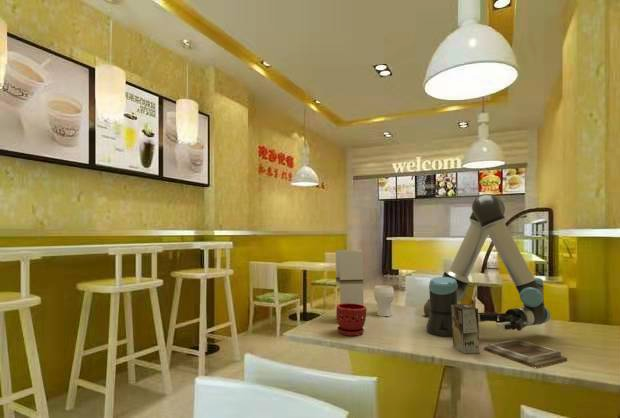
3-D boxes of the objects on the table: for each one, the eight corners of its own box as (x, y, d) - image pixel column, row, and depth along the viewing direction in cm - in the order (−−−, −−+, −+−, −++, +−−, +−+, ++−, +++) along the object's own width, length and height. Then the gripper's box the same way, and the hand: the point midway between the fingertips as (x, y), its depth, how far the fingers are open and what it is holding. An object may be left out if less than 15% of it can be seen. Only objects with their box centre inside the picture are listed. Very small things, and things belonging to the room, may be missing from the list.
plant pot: (345, 339, 148) (345, 309, 149) (331, 330, 160) (331, 304, 161) (372, 335, 153) (371, 307, 153) (357, 327, 165) (356, 301, 166)
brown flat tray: (484, 349, 133) (483, 342, 133) (513, 344, 140) (512, 337, 140) (536, 368, 115) (535, 360, 115) (567, 360, 121) (566, 353, 122)
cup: (390, 318, 182) (389, 288, 183) (371, 315, 188) (370, 287, 189) (397, 314, 191) (396, 286, 192) (378, 312, 197) (378, 284, 198)
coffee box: (480, 353, 129) (479, 308, 130) (463, 353, 129) (462, 309, 130) (467, 345, 139) (466, 303, 140) (451, 345, 138) (450, 304, 139)
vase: (438, 318, 182) (438, 301, 182) (424, 317, 183) (424, 300, 184) (436, 315, 188) (436, 298, 189) (423, 314, 190) (422, 298, 190)
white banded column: (357, 317, 184) (356, 250, 186) (363, 323, 173) (362, 251, 176) (336, 318, 182) (335, 250, 184) (340, 324, 172) (340, 251, 174)
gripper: (550, 334, 134) (512, 342, 125) (492, 320, 157) (456, 325, 148) (549, 314, 135) (511, 320, 126) (491, 302, 157) (456, 307, 149)
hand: (481, 323), depth 137 cm, fingers open, 13 cm apart
